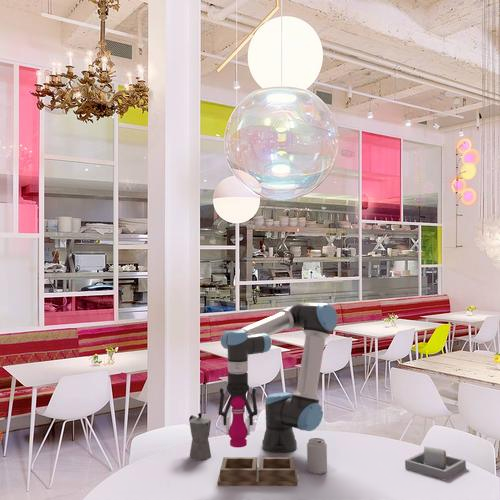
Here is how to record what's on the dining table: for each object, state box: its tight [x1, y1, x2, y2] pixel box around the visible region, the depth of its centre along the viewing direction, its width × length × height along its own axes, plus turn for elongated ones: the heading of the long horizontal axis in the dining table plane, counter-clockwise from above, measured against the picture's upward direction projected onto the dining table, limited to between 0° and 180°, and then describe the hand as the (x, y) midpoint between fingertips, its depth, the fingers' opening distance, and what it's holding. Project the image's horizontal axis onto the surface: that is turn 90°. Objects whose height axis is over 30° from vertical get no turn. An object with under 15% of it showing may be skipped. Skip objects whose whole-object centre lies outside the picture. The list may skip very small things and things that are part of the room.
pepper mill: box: [228, 396, 249, 449], centre depth 197 cm, size 7×7×20 cm
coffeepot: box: [188, 412, 212, 461], centre depth 221 cm, size 15×9×18 cm, turn 35°
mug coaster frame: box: [404, 451, 467, 481], centre depth 204 cm, size 16×16×3 cm
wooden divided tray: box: [217, 456, 299, 487], centre depth 196 cm, size 29×14×6 cm, turn 88°
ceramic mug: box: [423, 446, 447, 470], centre depth 206 cm, size 11×8×8 cm
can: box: [306, 437, 328, 475], centre depth 202 cm, size 8×8×12 cm
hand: (238, 433), depth 197 cm, fingers closed on pepper mill, 7 cm apart
